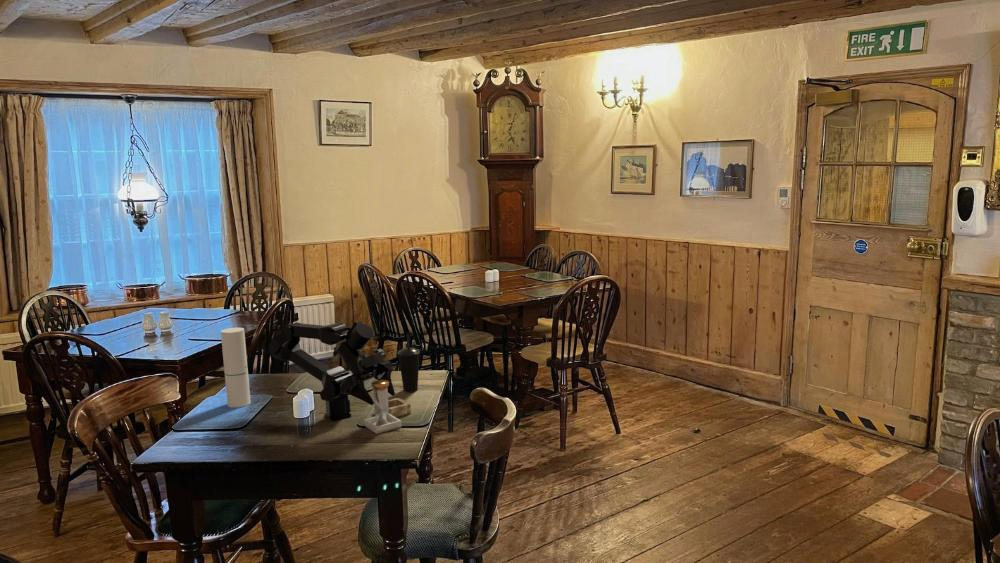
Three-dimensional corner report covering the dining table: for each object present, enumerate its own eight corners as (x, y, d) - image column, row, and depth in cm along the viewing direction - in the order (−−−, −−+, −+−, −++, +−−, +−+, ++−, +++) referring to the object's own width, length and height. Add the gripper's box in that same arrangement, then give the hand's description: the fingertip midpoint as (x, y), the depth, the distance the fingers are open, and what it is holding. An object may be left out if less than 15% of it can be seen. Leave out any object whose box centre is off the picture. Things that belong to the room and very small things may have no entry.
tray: (376, 433, 206) (376, 427, 205) (364, 425, 212) (363, 419, 212) (401, 427, 210) (401, 420, 210) (389, 419, 217) (388, 413, 217)
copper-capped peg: (372, 427, 209) (369, 385, 207) (376, 421, 214) (373, 380, 212) (389, 427, 209) (386, 385, 206) (392, 421, 213) (390, 379, 211)
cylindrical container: (254, 400, 238) (248, 327, 233) (244, 407, 231) (238, 332, 226) (233, 400, 238) (227, 327, 234) (223, 407, 231) (216, 332, 227)
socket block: (388, 419, 217) (387, 409, 217) (376, 412, 224) (376, 403, 223) (410, 413, 222) (410, 404, 221) (399, 406, 228) (398, 397, 227)
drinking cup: (420, 393, 241) (417, 335, 237) (397, 393, 241) (394, 336, 237) (423, 386, 248) (420, 330, 245) (401, 386, 248) (398, 330, 245)
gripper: (344, 349, 201) (376, 393, 198) (388, 335, 217) (418, 375, 213) (326, 372, 207) (356, 415, 203) (369, 357, 222) (398, 396, 219)
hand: (383, 399), depth 209 cm, fingers open, 9 cm apart
